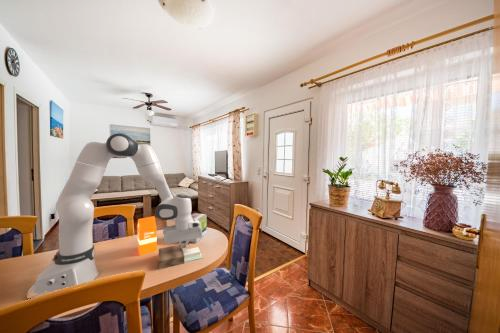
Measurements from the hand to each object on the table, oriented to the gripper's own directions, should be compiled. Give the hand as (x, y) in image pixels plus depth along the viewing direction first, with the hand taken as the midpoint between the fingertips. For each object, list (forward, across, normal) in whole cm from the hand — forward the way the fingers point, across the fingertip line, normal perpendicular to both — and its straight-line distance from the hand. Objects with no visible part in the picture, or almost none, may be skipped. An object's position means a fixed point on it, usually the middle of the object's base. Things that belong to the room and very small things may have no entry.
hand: (183, 247), depth 106 cm
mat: (+5, +4, 0) cm, 7 cm away
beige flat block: (+5, +4, 0) cm, 6 cm away
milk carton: (+5, -3, +23) cm, 24 cm away
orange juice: (+5, -19, +16) cm, 25 cm away
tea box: (+5, +10, +22) cm, 25 cm away
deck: (+5, -7, 0) cm, 8 cm away
